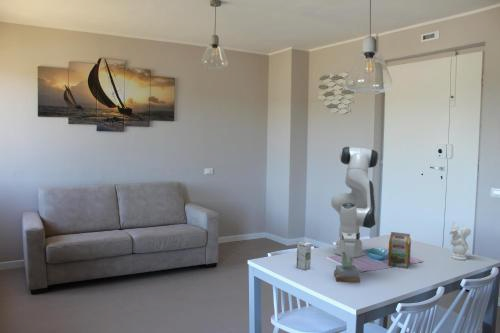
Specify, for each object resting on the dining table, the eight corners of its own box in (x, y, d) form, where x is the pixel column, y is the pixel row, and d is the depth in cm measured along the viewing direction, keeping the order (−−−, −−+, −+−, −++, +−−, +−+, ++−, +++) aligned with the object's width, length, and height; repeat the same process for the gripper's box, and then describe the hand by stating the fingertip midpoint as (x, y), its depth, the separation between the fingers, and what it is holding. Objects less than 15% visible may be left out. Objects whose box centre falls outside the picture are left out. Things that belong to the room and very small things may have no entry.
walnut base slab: (334, 275, 241) (334, 269, 240) (356, 276, 240) (356, 270, 239) (336, 282, 229) (336, 277, 229) (360, 283, 228) (360, 278, 227)
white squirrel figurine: (471, 260, 271) (474, 224, 269) (456, 262, 266) (458, 226, 264) (455, 254, 282) (458, 220, 280) (440, 256, 278) (442, 222, 276)
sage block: (341, 262, 236) (341, 251, 236) (351, 263, 236) (351, 252, 236) (342, 265, 231) (343, 254, 231) (352, 265, 231) (352, 254, 231)
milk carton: (388, 265, 257) (389, 233, 256) (391, 261, 266) (392, 230, 265) (407, 268, 252) (408, 235, 251) (410, 263, 262) (411, 232, 260)
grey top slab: (335, 270, 239) (335, 265, 239) (354, 270, 239) (354, 265, 239) (339, 276, 229) (340, 271, 229) (359, 277, 229) (359, 271, 229)
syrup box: (301, 265, 255) (302, 241, 254) (310, 267, 251) (311, 242, 250) (296, 268, 251) (296, 242, 250) (305, 270, 247) (305, 244, 246)
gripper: (339, 229, 243) (338, 254, 244) (344, 238, 223) (343, 265, 224) (351, 230, 243) (350, 255, 244) (356, 239, 222) (356, 266, 223)
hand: (347, 260), depth 234 cm, fingers closed on sage block, 5 cm apart
